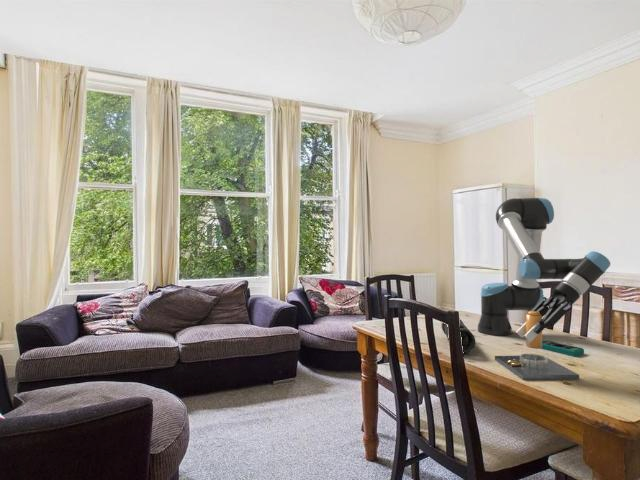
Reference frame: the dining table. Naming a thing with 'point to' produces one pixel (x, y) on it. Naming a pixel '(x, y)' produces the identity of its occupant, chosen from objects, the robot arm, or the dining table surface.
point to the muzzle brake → (463, 336)
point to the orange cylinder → (530, 322)
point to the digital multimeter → (562, 348)
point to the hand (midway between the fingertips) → (523, 336)
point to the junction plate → (537, 373)
